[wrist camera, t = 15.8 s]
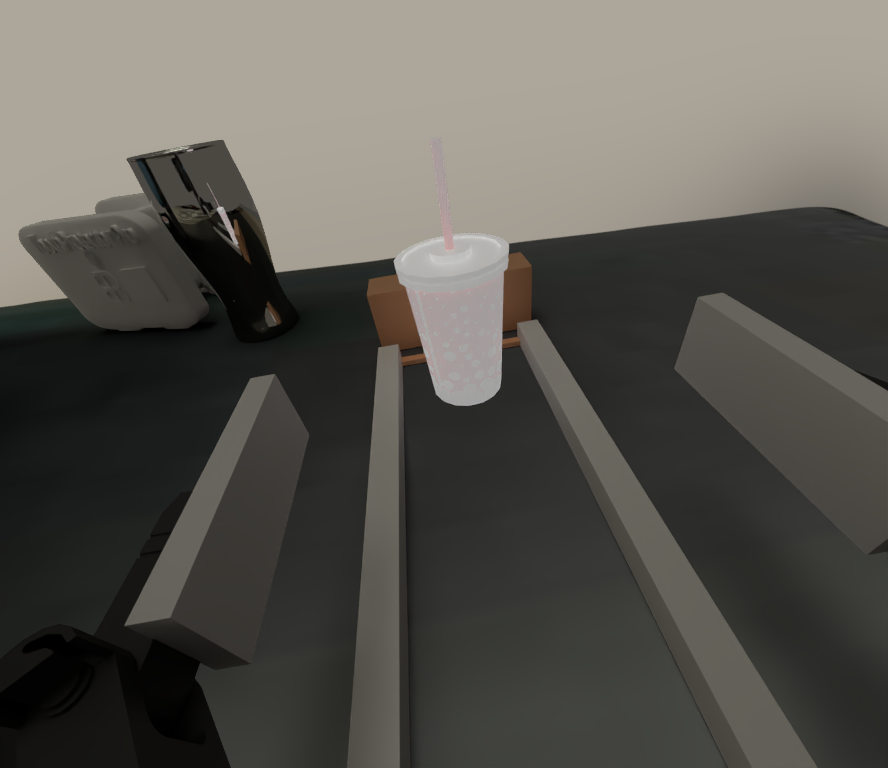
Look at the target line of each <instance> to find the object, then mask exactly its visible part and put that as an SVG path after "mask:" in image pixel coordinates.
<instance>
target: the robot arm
mask: <svg viewBox="0 0 888 768" xmlns="http://www.w3.org/2000/svg"><path fill="white" fill-rule="evenodd" d="M674 369H675V370H676V371H677V372H678V373H679V374H680V375H681V376H682V377H683V378H684V379H685V380H686V381H687V382H688V383H689V384H690V385H691V386H692V387H693V388H695V389H696V390H697V391H698V392H699V393H700V394H701V395H702V396H703V397H704V398H705V399H706V400H707V401H708V402H709V403H710V404H711V405H712V406H713V407H714V408H715V409H716V410H717V411H718V412H719V413H720V414H721V415H722V416H723V417H724V418H725V419H726V420H728V421H729V422H730V423H731V424H732V425H733V426H734V427H735V428H736V429H737V430H738V431H739V432H740V433H741V434H742V435H743V436H744V437H745V438H746V439H747V440H748V441H749V442H750V443H751V444H752V445H753V446H754V447H755V448H756V449H757V450H758V451H759V452H761V453H762V454H763V455H764V456H765V457H766V458H767V459H768V460H769V461H770V462H771V463H772V464H773V465H774V466H775V467H776V468H777V469H778V470H779V471H780V472H781V473H782V474H783V475H784V476H785V477H786V478H787V479H788V480H789V481H790V482H791V483H792V484H793V485H795V486H796V487H797V488H798V489H799V490H800V491H801V492H802V493H803V494H804V495H805V496H806V497H807V498H808V499H809V500H810V501H811V502H812V503H813V504H814V505H815V506H816V507H817V508H818V509H819V510H820V511H821V512H822V513H823V514H824V515H825V516H826V517H828V518H829V519H830V520H831V521H832V522H833V523H834V524H835V525H836V526H837V527H838V528H839V529H840V530H841V531H842V532H843V533H844V534H845V535H846V536H847V537H848V538H849V539H850V540H851V541H852V542H853V543H854V544H855V545H856V546H857V547H858V548H859V549H860V550H862V551H863V552H864V553H865V554H866V555H870V554H876V553H882V552H887V551H888V383H887V382H885V381H882V380H879V379H876V378H874V377H871V376H868V375H866V374H863V373H860V372H858V371H854V370H852V369H850V368H848V367H847V366H845V365H843V364H842V363H840V362H838V361H837V360H835V359H833V358H832V357H830V356H828V355H827V354H825V353H823V352H822V351H820V350H818V349H817V348H815V347H813V346H811V345H810V344H808V343H806V342H805V341H803V340H801V339H800V338H798V337H796V336H795V335H793V334H791V333H790V332H788V331H786V330H785V329H783V328H781V327H780V326H778V325H776V324H775V323H773V322H771V321H769V320H768V319H766V318H764V317H763V316H761V315H759V314H758V313H756V312H754V311H753V310H751V309H749V308H748V307H746V306H744V305H743V304H741V303H739V302H738V301H736V300H734V299H732V298H731V297H729V296H727V295H726V294H724V293H719V294H713V295H708V296H702V297H698V299H697V302H696V305H695V308H694V311H693V314H692V317H691V320H690V323H689V326H688V329H687V332H686V335H685V338H684V341H683V344H682V347H681V350H680V353H679V356H678V359H677V362H676V365H675V368H674ZM308 437H309V434H308V432H307V430H306V428H305V426H304V425H303V423H302V421H301V419H300V418H299V416H298V414H297V412H296V410H295V409H294V407H293V405H292V403H291V402H290V400H289V398H288V396H287V394H286V393H285V391H284V389H283V387H282V386H281V384H280V382H279V380H278V378H277V377H276V375H275V374H273V375H267V376H262V377H256V378H251V379H250V381H249V383H248V385H247V386H246V388H245V390H244V392H243V394H242V396H241V398H240V400H239V402H238V404H237V406H236V408H235V410H234V412H233V414H232V416H231V418H230V420H229V422H228V424H227V426H226V428H225V430H224V431H223V433H222V435H221V437H220V439H219V441H218V443H217V445H216V447H215V449H214V451H213V453H212V455H211V457H210V459H209V461H208V463H207V465H206V467H205V469H204V471H203V473H202V474H201V476H200V478H199V480H198V482H197V484H196V486H195V488H194V490H193V491H189V492H184V493H181V494H180V495H179V496H178V497H177V498H176V499H175V500H174V501H173V502H172V503H171V504H170V506H169V507H168V508H167V509H166V510H165V511H164V512H163V513H162V515H161V517H160V518H159V520H158V522H157V524H156V526H155V527H154V529H153V531H152V533H151V535H150V536H151V538H150V539H149V540H147V542H146V543H145V545H144V547H143V549H142V551H141V552H140V558H138V559H137V560H136V561H135V563H134V565H133V567H132V569H131V570H130V572H129V574H128V576H127V578H126V579H125V581H124V583H123V585H122V587H121V588H120V590H119V592H118V594H117V595H116V597H115V599H114V601H113V603H112V604H111V606H110V608H109V610H108V612H107V613H106V615H105V617H104V619H103V621H102V622H101V624H100V626H99V628H98V630H97V631H96V633H95V634H94V636H92V635H90V634H87V633H85V632H83V631H80V630H78V629H76V628H73V627H71V626H66V625H61V624H58V625H55V626H51V627H48V628H44V629H41V630H40V631H38V632H36V633H35V634H33V635H31V636H29V637H28V638H26V639H24V640H23V641H21V642H20V643H19V644H18V645H17V646H15V647H14V648H13V649H12V650H11V651H9V652H8V653H7V654H6V655H4V656H3V657H2V658H1V659H0V768H231V767H230V764H229V762H228V759H227V756H226V753H225V751H224V748H223V745H222V742H221V740H220V737H219V734H218V732H217V729H216V726H215V723H214V721H213V718H212V715H211V712H210V710H209V707H208V704H207V701H206V699H205V696H204V693H203V690H202V688H201V686H200V685H199V683H198V682H197V681H196V680H195V676H196V673H197V670H198V667H199V664H200V663H202V664H204V665H206V666H208V667H210V668H212V669H214V670H219V669H225V668H231V667H236V666H242V665H248V664H251V663H252V659H253V655H254V651H255V647H256V643H257V639H258V635H259V631H260V627H261V623H262V619H263V615H264V611H265V607H266V603H267V599H268V595H269V591H270V587H271V584H272V580H273V576H274V572H275V568H276V564H277V560H278V556H279V552H280V548H281V544H282V540H283V536H284V532H285V528H286V524H287V520H288V516H289V512H290V508H291V504H292V500H293V496H294V492H295V489H296V485H297V481H298V477H299V473H300V469H301V465H302V461H303V457H304V453H305V449H306V445H307V441H308Z"/></svg>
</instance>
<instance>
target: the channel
mask: <svg viewBox="0 0 888 768" xmlns="http://www.w3.org/2000/svg"><path fill="white" fill-rule="evenodd" d="M508 259H509V261H508V267H507V269H506V270H505V271H504V284H503V323H502V332H505V331H510V330H516V329H517V337H515V338H509V339H503V340H502V349H504V348H509V347H515V346H521V348H522V350H523V352H524V354H525V356H526V358H527V360H528V362H529V365H530V367H531V369H532V371H533V373H534V375H535V377H536V379H537V381H538V383H539V385H540V387H541V389H542V391H543V393H544V395H545V397H546V399H547V401H548V403H549V405H550V407H551V409H552V411H553V413H554V415H555V417H556V419H557V421H558V423H559V425H560V427H561V429H562V432H563V434H564V436H565V438H566V440H567V442H568V444H569V446H570V448H571V450H572V452H573V454H574V456H575V458H576V460H577V462H578V464H579V466H580V468H581V470H582V472H583V474H584V476H585V478H586V480H587V482H588V484H589V486H590V488H591V490H592V492H593V494H594V497H595V499H596V501H597V503H598V505H599V507H600V509H601V511H602V513H603V515H604V517H605V519H606V521H607V523H608V525H609V527H610V529H611V531H612V533H613V535H614V537H615V539H616V541H617V543H618V545H619V547H620V549H621V551H622V553H623V555H624V557H625V559H626V561H627V564H628V566H629V568H630V570H631V572H632V574H633V576H634V578H635V580H636V582H637V584H638V586H639V588H640V590H641V592H642V594H643V596H644V598H645V600H646V602H647V604H648V606H649V608H650V610H651V612H652V614H653V616H654V618H655V620H656V622H657V624H658V626H659V629H660V631H661V633H662V635H663V637H664V639H665V641H666V643H667V645H668V647H669V649H670V651H671V653H672V655H673V657H674V659H675V661H676V663H677V665H678V667H679V669H680V671H681V673H682V675H683V677H684V679H685V681H686V683H687V685H688V687H689V689H690V691H691V694H692V696H693V698H694V700H695V702H696V704H697V706H698V708H699V710H700V712H701V714H702V716H703V718H704V720H705V722H706V724H707V726H708V728H709V730H710V732H711V734H712V736H713V738H714V740H715V742H716V744H717V746H718V748H719V750H720V752H721V754H722V756H723V758H724V761H725V763H726V765H727V767H728V768H817V766H816V765H815V763H814V761H813V760H812V758H811V757H810V755H809V753H808V752H807V750H806V749H805V747H804V745H803V744H802V742H801V741H800V739H799V737H798V736H797V734H796V733H795V731H794V729H793V728H792V726H791V725H790V723H789V721H788V720H787V718H786V717H785V715H784V713H783V712H782V710H781V709H780V707H779V705H778V704H777V702H776V701H775V699H774V697H773V696H772V694H771V693H770V691H769V689H768V688H767V686H766V685H765V683H764V681H763V680H762V678H761V677H760V675H759V673H758V672H757V670H756V669H755V667H754V665H753V664H752V662H751V661H750V659H749V657H748V656H747V654H746V653H745V651H744V649H743V648H742V646H741V645H740V643H739V641H738V640H737V638H736V637H735V635H734V633H733V632H732V630H731V629H730V627H729V625H728V624H727V622H726V621H725V619H724V617H723V616H722V614H721V613H720V611H719V609H718V608H717V606H716V605H715V603H714V601H713V600H712V598H711V597H710V595H709V593H708V592H707V590H706V589H705V587H704V586H703V584H702V582H701V581H700V579H699V578H698V576H697V574H696V573H695V571H694V570H693V568H692V566H691V565H690V563H689V562H688V560H687V558H686V557H685V555H684V554H683V552H682V550H681V549H680V547H679V546H678V544H677V542H676V541H675V539H674V538H673V536H672V534H671V533H670V531H669V530H668V528H667V526H666V525H665V523H664V522H663V520H662V518H661V517H660V515H659V514H658V512H657V510H656V509H655V507H654V506H653V504H652V502H651V501H650V499H649V498H648V496H647V494H646V493H645V491H644V490H643V488H642V486H641V485H640V483H639V482H638V480H637V478H636V477H635V475H634V474H633V472H632V470H631V469H630V467H629V466H628V464H627V462H626V461H625V459H624V458H623V456H622V454H621V453H620V451H619V450H618V448H617V446H616V445H615V443H614V442H613V440H612V438H611V437H610V435H609V434H608V432H607V430H606V429H605V427H604V426H603V424H602V422H601V421H600V419H599V418H598V416H597V414H596V413H595V411H594V410H593V408H592V406H591V405H590V403H589V402H588V400H587V398H586V397H585V395H584V394H583V392H582V390H581V389H580V387H579V386H578V384H577V383H576V381H575V379H574V378H573V376H572V375H571V373H570V371H569V370H568V368H567V367H566V365H565V363H564V362H563V360H562V359H561V357H560V355H559V354H558V352H557V351H556V349H555V347H554V346H553V344H552V343H551V341H550V339H549V338H548V336H547V335H546V333H545V331H544V330H543V328H542V327H541V325H540V323H539V322H538V320H531V291H532V266H531V265H530V263H529V262H528V261H527V260H526V258H525V257H524V256H523V255H522V253H521V252H519V253H514V254H508ZM367 298H368V301H369V305H370V308H371V311H372V315H373V318H374V321H375V325H376V328H377V331H378V335H379V338H380V341H381V345H382V347H379V348H378V360H377V374H376V387H375V400H374V414H373V427H372V440H371V454H370V467H369V480H368V494H367V507H366V520H365V534H364V547H363V560H362V574H361V587H360V600H359V614H358V627H357V640H356V653H355V667H354V680H353V693H352V707H351V720H350V733H349V747H348V760H347V768H410V718H409V667H408V616H407V565H406V513H405V462H404V411H403V366H407V365H413V364H419V363H424V362H427V360H426V356H425V353H424V354H419V355H413V356H407V357H402V356H401V353H400V350H403V349H409V348H414V347H420V346H422V343H421V339H420V336H419V332H418V329H417V325H416V322H415V318H414V315H413V311H412V308H411V305H410V301H409V298H408V294H407V291H406V287H405V286H403V285H402V284H400V283H399V279H398V275H391V276H385V277H380V278H374V279H369V285H368V292H367Z"/></svg>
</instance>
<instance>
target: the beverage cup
mask: <svg viewBox="0 0 888 768" xmlns="http://www.w3.org/2000/svg"><path fill="white" fill-rule="evenodd" d="M430 142H431V149H432V156H433V163H434V170H435V178H436V185H437V192H438V199H439V207H440V213H441V221H442V228H443V236H440V237H435V238H430V239H428V240H425V241H422V242H419V243H417V244H414V245H412V246H410V247H408V248H407V249H405V250H403V251H402V252H400V253H399V254H398V256H397V257H396V258H395V260H394V264H395V268H396V272H397V275H398V279H399V283H400V284H402V285H403V286H405V287H406V291H407V294H408V298H409V301H410V305H411V308H412V311H413V315H414V318H415V322H416V325H417V329H418V332H419V336H420V339H421V343H422V346H423V349H424V353H425V356H426V360H427V363H428V367H429V370H430V374H431V377H432V381H433V384H434V388H435V391H436V394H437V395H438V396H439V397H440V398H441V399H442V400H443V401H445V402H447V403H450V404H453V405H463V406H470V405H474V404H478V403H482V402H484V401H486V400H488V399H489V398H491V397H493V396H494V395H495V394H496V392H497V391H498V390H499V388H500V384H501V363H502V323H503V284H504V271H505V270H506V269H507V267H508V261H509V259H508V253H509V244H508V243H507V242H505V241H504V240H503V239H502V238H500V237H497V236H494V235H490V234H483V233H461V234H453V233H452V225H451V217H450V208H449V201H448V192H447V184H446V176H445V168H444V159H443V152H442V144H441V138H434V139H431V140H430Z"/></svg>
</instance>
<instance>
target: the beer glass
mask: <svg viewBox="0 0 888 768" xmlns="http://www.w3.org/2000/svg"><path fill="white" fill-rule="evenodd" d="M127 161H128V163H129V164H130V166H131V168H132V170H133V172H134V174H135V176H136V178H137V179H138V181H139V183H140V185H141V187H142V189H143V191H144V193H145V195H146V197H147V199H148V201H149V203H150V205H151V206H152V208H153V210H154V212H155V213H156V215H157V217H158V219H159V220H160V222H161V224H162V225H163V227H164V228H165V230H166V231H167V233H168V234H169V236H170V237H171V239H172V240H173V242H174V243H175V244H176V246H177V247H178V248H179V250H180V251H181V252H182V254H183V255H184V256H185V257H186V259H187V260H188V261H189V262H190V263H191V265H192V266H193V267H194V268H195V269H196V271H197V272H198V273H199V274H200V275H201V277H202V278H203V279H204V280H205V281H206V282H207V284H208V285H209V286H210V287H211V289H212V290H213V291H214V292H215V294H216V295H217V296H218V298H219V299H220V301H221V302H222V304H223V306H224V308H225V310H226V312H227V314H228V316H229V319H230V322H231V325H232V328H233V331H234V333H235V335H236V337H237V338H238V339H239V340H241V341H244V342H259V341H264V340H268V339H271V338H274V337H276V336H278V335H280V334H282V333H284V332H286V331H288V330H289V329H290V328H292V327H293V326H294V325H295V324H296V322H297V320H298V313H297V311H296V310H295V308H294V307H293V305H292V304H291V302H290V301H289V299H288V298H287V296H286V295H285V293H284V292H283V290H282V288H281V286H280V284H279V281H278V279H277V276H276V273H275V270H274V266H273V263H272V259H271V255H270V251H269V247H268V243H267V240H266V236H265V232H264V229H263V226H262V223H261V220H260V217H259V214H258V211H257V209H256V207H255V204H254V202H253V199H252V197H251V195H250V193H249V191H248V189H247V186H246V184H245V182H244V180H243V178H242V176H241V174H240V172H239V170H238V168H237V166H236V165H235V163H234V161H233V159H232V157H231V155H230V153H229V151H228V149H227V147H226V145H225V143H224V141H223V140H217V141H211V142H205V143H199V144H194V145H189V146H184V147H178V148H173V149H168V150H163V151H158V152H153V153H149V154H143V155H139V156H134V157H130V158H127Z"/></svg>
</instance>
